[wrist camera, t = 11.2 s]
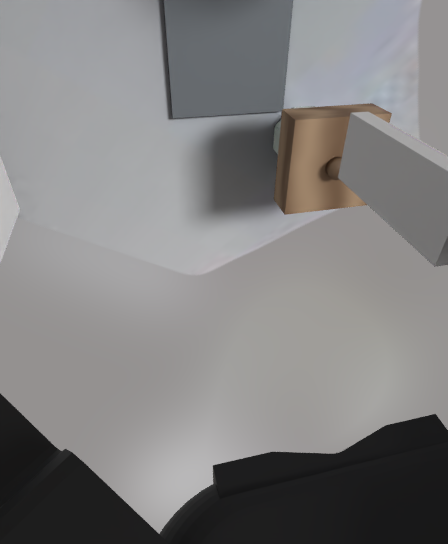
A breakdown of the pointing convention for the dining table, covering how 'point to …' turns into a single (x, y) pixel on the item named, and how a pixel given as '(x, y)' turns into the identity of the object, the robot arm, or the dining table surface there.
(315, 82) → the dining table surface
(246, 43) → the mat
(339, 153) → the lid
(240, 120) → the dining table surface
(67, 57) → the dining table surface
